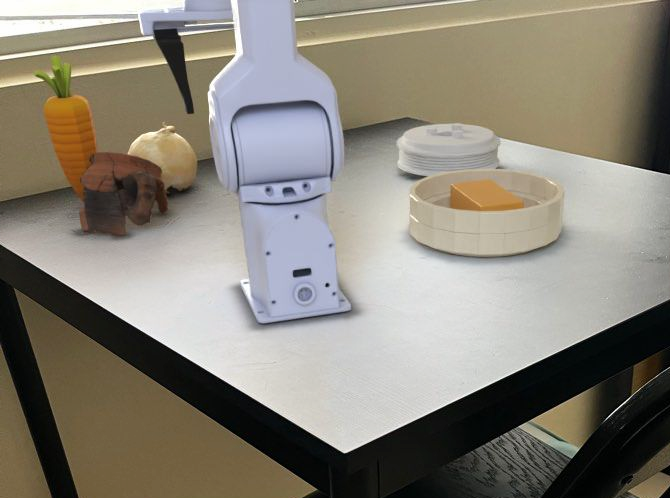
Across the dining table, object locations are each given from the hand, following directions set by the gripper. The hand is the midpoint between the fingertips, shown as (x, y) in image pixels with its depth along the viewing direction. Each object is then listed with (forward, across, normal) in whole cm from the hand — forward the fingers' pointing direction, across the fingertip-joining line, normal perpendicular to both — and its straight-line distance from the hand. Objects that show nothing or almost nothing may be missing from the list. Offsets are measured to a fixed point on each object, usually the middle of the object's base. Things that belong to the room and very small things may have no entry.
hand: (226, 109), depth 92 cm
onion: (+10, +7, -10) cm, 16 cm away
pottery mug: (+10, +12, +2) cm, 16 cm away
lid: (+10, -27, -5) cm, 29 cm away
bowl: (+10, -22, +19) cm, 31 cm away
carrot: (+10, +16, -7) cm, 20 cm away
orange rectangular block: (+10, -22, +19) cm, 31 cm away
